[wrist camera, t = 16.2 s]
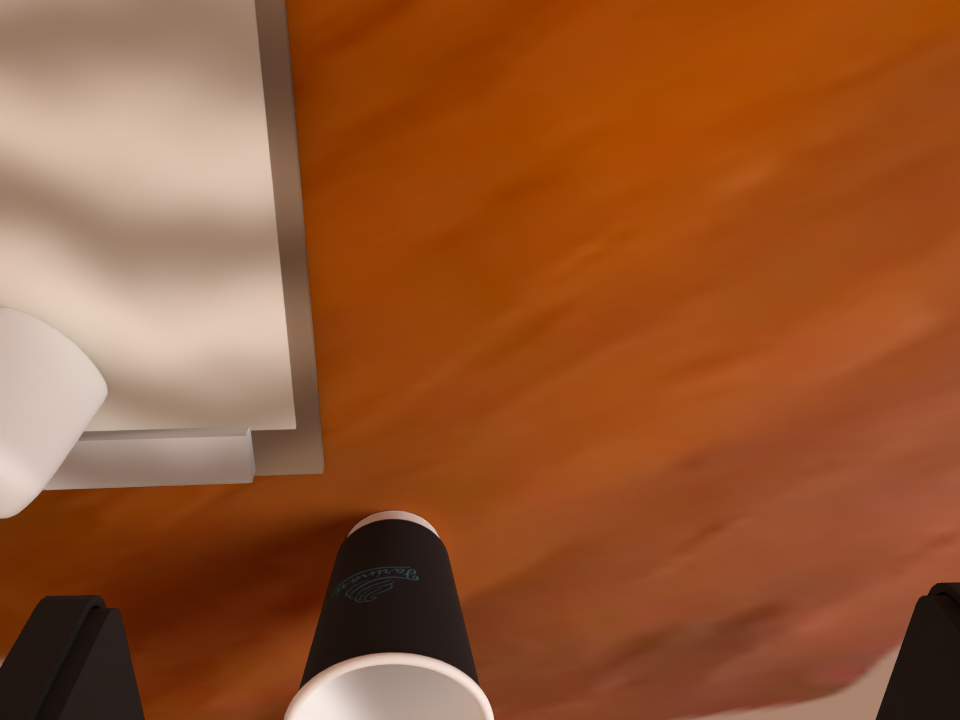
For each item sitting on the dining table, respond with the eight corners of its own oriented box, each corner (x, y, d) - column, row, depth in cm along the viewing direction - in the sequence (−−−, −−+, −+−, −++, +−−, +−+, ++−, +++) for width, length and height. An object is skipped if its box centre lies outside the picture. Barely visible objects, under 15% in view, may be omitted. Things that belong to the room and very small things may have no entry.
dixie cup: (403, 636, 44) (403, 834, 34) (278, 561, 41) (238, 754, 31) (506, 539, 42) (538, 721, 32) (380, 453, 39) (372, 623, 29)
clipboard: (-205, -73, 28) (-238, -75, 27) (279, -67, 29) (273, -68, 28) (-37, 478, 38) (-54, 499, 36) (324, 466, 39) (321, 485, 37)
